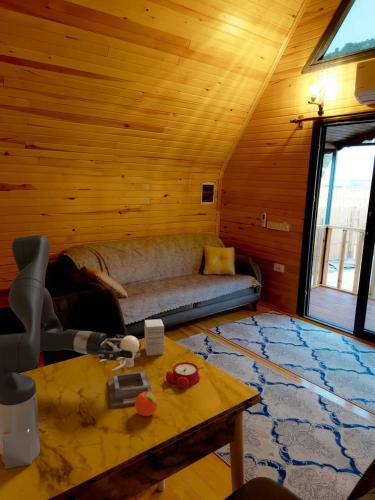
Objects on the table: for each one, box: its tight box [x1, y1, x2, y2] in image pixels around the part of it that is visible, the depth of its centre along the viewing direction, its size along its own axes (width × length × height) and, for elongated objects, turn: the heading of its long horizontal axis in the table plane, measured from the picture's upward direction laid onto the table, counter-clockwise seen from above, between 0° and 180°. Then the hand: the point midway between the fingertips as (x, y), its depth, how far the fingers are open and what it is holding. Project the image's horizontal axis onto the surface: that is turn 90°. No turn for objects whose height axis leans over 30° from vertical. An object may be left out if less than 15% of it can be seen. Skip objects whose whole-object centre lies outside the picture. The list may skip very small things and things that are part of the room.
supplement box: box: [144, 319, 165, 356], centre depth 154 cm, size 7×7×13 cm
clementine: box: [134, 392, 158, 417], centre depth 114 cm, size 8×7×7 cm
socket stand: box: [107, 370, 154, 409], centre depth 126 cm, size 16×14×4 cm
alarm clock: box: [165, 361, 204, 389], centre depth 133 cm, size 10×6×15 cm
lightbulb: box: [120, 335, 140, 369], centre depth 123 cm, size 6×6×11 cm
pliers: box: [99, 352, 141, 372], centre depth 147 cm, size 10×2×15 cm
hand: (136, 350), depth 123 cm, fingers closed on lightbulb, 6 cm apart
